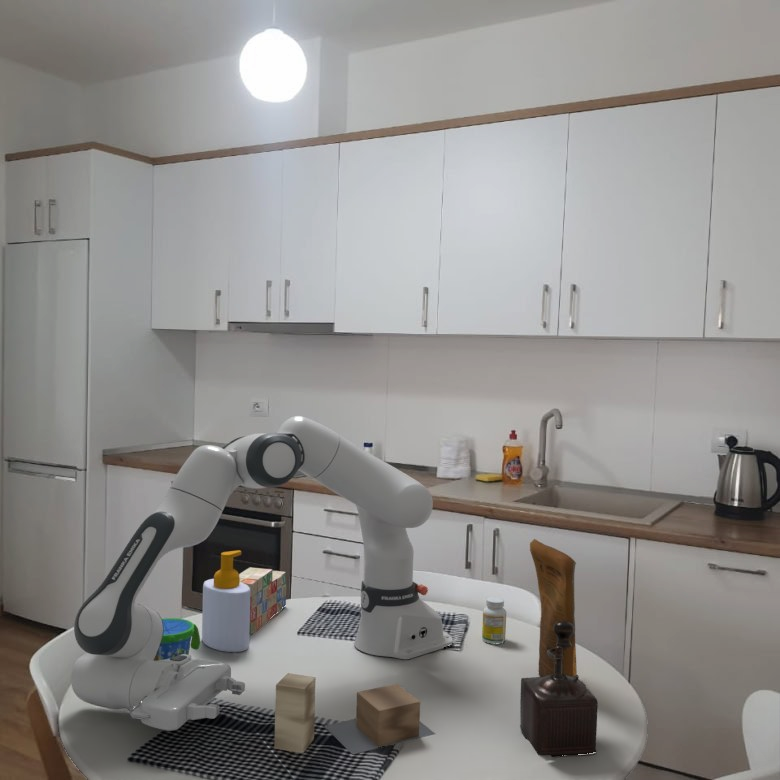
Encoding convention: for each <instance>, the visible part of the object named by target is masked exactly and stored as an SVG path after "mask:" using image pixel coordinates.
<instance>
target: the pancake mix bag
mask: <svg viewBox="0 0 780 780" xmlns="http://www.w3.org/2000/svg"><path fill="white" fill-rule="evenodd" d="M529 552H530V555H531V558H532V560H533V564H534V567H535V573H536V579H537V587H538V592H539V598H540V600H539V601H540V614H541V615H540V624H539V646H538V647H539V648H538V650H539V651H538V652H539V654H538V655H539V656H538V657H539V658H538V669H537V670H538V672H539V674H540V675H541V677H546V676H548V675H552V674H556V659H552V658H551V657H549V656H548V655H547V650H549V649H553V648H556V647H557V646H556V644H557V642H558V638H557V636H556V634H555V633H554V631H553V627H554V625H555V623H557V622H559V621H567V622H570V623H571V624H572V625H573V627H574V633H573V634H572V635H571V638H570V643H571V645H572V646H571V647H568V648H567V649H566V650H565V651H563V652H562V655H563V659H562V664H561V674H563V673H564V674H565V675H567V676H576V675H578V672H577V671H578V670H577V651H576V622H575V621H576V620H575V609H576V607H575V606H576V605H575V604H576V603H575V573H576V572H575V570H576V565H577V562H576V561H575V560H574V558H572V556H570V555H568V554H567V553H565V552H563V551H562V550H559V549H557V548H555V547H552V546H550V545H546V544H544V543H543V542H540V541H539V540H537V539H535V538H534V539H532V541H530V543H529ZM553 654H556V653H553ZM539 674H538V675H539ZM540 675H539V676H540Z"/></svg>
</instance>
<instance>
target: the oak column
mask: <svg viewBox="0 0 780 780" xmlns="http://www.w3.org/2000/svg"><path fill="white" fill-rule="evenodd" d="M316 679H317V678H316V676H310V675H304V674H296V673H290V672H289V673H286V674H285V675H284V676H283V677H282V679H280V680H279V681H278V682H277V683H276V684H275V702H274V703H275V705H274V706H275V707H274V708H275V711H274V712H275V713H274V746H273V747H274V749H275V750H281V751H282V750H283V751H287V752H288V751H289V752H293V753H298V754H299V753H300V754H304V752H305V751H306V750H307V749H308V748H309V746H310V745H311V744H312V742H313V741H314V740H315V715H316V714H315V713H316V712H315V711H316Z"/></svg>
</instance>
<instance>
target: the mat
mask: <svg viewBox="0 0 780 780" xmlns="http://www.w3.org/2000/svg"><path fill="white" fill-rule="evenodd" d="M323 727H324V728H325V729H327V731H328V732H329V733H330V734H331V735H332V736H333V737H334V738H335V739H336V740H337V741H338V742H339V743H340V744H341V745H342V746H343V747H344V748H346V749H347V751H348V752H349V753H350V754H351V755H353V756H354V755H357V754H360V753H365V752H369V751H372V750H377V749H379V748H378V747H381V748H383V747H382V746H385V747H389V746H392V745H396V744H397V745H398V744H401V743H405V742H409V741H412V740H417V739H419V738H424V737H425V738H426V737H428V736H432V735H436V733H435V732H434V731H433V730H431V729H430V728H429V727H427V725H425V724H424V723H423V722H422V721H420V723H419V736H417V737H413V738H409V739H405V740H401V741H397V742H393V743H389V744H385V745H381V746H377V745H376V744H375V743H374V742H373V741H372V740H371V739H370V738H369V737H367V736H366V735H365V734H364V733H363V732H362V731H361V730H360V729H359V728H358V727H357V726H356V718H352V719H347V720H343V721H339V722H334V723H330V724H325V725H323ZM388 745H389V746H388Z"/></svg>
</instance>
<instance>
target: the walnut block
mask: <svg viewBox="0 0 780 780" xmlns="http://www.w3.org/2000/svg"><path fill="white" fill-rule="evenodd" d="M355 712H356V713H355V714H356V717H355V719H356V726H357V727H358V728H359V729H360V730H361V731H362V732H363V733H364V734H365V735H366V736H367V737H369V738H370V739H371V740H372V741H373V742H374V743H375V744H376V745H377V746H381V745H385V744H389V743H393V742H397V741H401V740H405V739H409V738H413V737H417V736H419V723H420V722H421V721H420V719H421V717H420V715H421V701H420V700H419V699H417V698H416V697H415V696H413V695H412V694H411V693H409V691H407V690H405V689H404V688H403V687H402V686H400V685H399V684H398V683H394V684H390V685H386V686H380V687H376V688H371V689H366V690H362V691H357V692H356V711H355Z"/></svg>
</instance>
